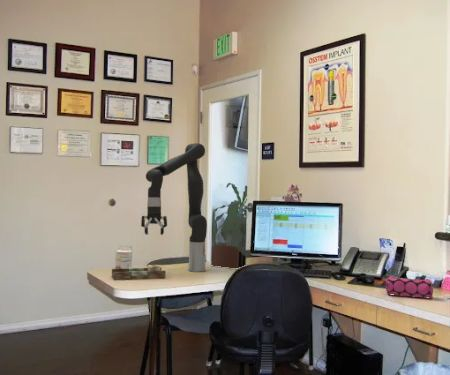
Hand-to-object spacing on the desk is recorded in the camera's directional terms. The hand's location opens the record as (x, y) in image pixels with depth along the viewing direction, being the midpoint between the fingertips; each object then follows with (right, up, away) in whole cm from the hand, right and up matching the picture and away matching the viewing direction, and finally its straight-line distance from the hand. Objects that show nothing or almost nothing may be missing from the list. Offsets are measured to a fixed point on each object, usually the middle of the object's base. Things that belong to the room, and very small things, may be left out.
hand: (154, 234), depth 273 cm
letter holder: (+42, -24, +36) cm, 60 cm away
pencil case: (+127, -26, -39) cm, 135 cm away
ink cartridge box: (-19, -22, +10) cm, 31 cm away
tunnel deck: (-7, -22, -8) cm, 25 cm away
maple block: (+1, -21, -5) cm, 21 cm away
